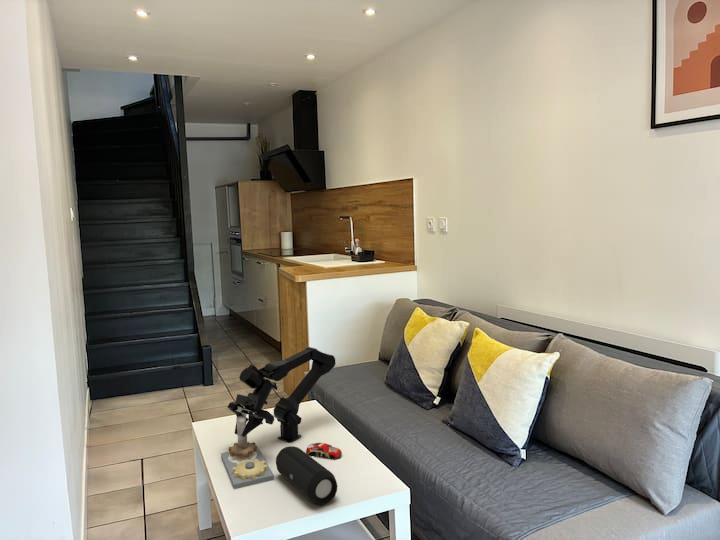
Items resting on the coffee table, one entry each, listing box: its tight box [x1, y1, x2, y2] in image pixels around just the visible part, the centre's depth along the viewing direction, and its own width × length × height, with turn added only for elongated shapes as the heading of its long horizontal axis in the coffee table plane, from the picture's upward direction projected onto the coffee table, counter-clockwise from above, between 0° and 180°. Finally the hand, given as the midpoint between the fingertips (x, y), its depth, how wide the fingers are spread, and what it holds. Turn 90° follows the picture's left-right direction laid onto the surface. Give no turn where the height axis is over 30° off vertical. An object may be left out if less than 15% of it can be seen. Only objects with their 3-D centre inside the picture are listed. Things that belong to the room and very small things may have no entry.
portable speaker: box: [275, 445, 338, 505], centre depth 170 cm, size 26×10×10 cm, turn 34°
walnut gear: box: [228, 416, 258, 458], centre depth 189 cm, size 10×10×12 cm
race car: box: [305, 442, 343, 460], centre depth 192 cm, size 13×5×4 cm, turn 68°
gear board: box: [220, 446, 275, 490], centre depth 184 cm, size 24×13×4 cm, turn 24°
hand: (239, 435), depth 188 cm, fingers closed on walnut gear, 3 cm apart
